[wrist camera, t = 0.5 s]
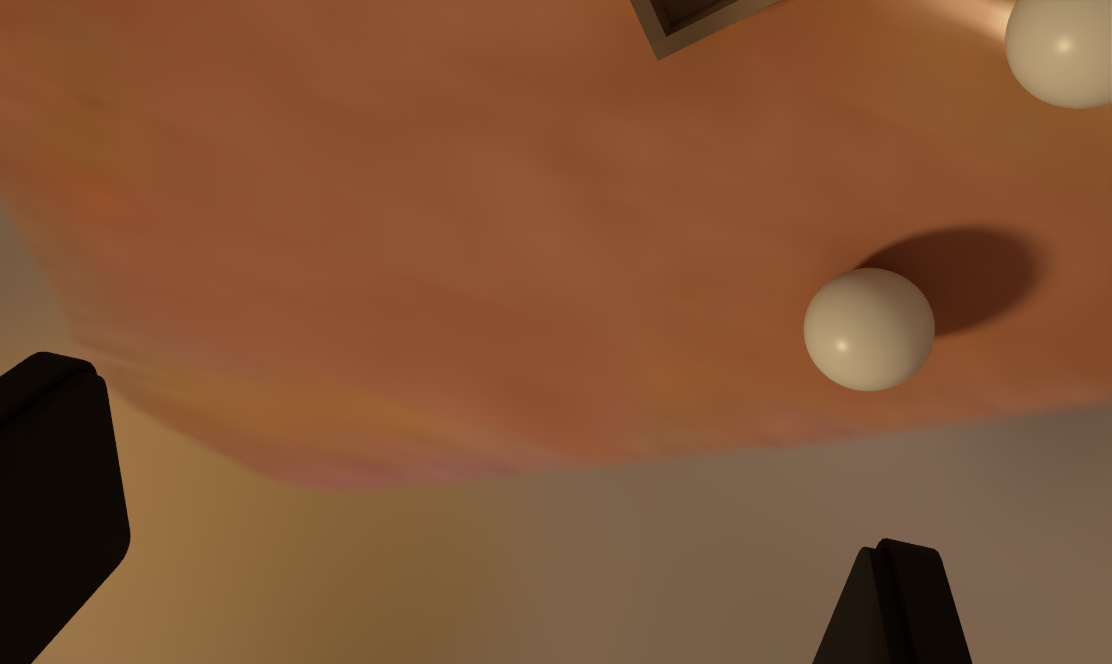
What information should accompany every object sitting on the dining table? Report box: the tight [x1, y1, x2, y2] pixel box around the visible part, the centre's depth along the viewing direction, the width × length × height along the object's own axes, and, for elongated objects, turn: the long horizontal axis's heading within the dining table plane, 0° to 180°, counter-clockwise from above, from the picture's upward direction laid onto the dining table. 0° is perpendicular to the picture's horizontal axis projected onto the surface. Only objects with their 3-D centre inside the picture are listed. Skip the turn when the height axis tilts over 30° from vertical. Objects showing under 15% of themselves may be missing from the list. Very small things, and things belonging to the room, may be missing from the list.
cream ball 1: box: [804, 268, 935, 391], centre depth 34 cm, size 5×5×5 cm
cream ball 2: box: [1005, 0, 1112, 109], centre depth 28 cm, size 5×5×5 cm
